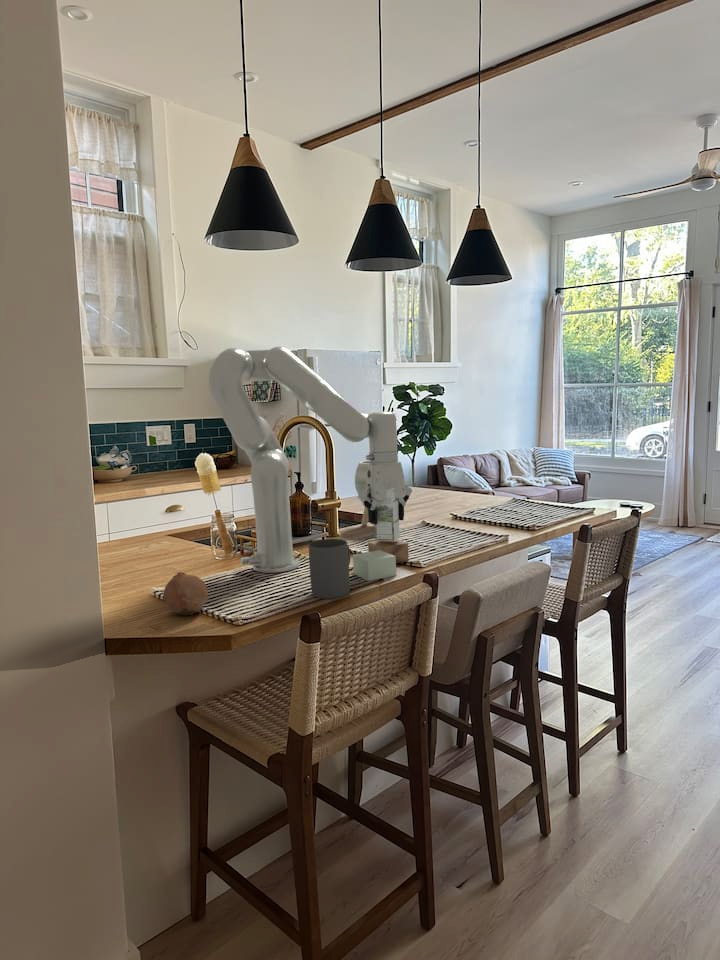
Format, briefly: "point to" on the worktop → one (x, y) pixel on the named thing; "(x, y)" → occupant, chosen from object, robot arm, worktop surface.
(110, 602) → the worktop surface
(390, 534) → the syrup box
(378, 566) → the sage block
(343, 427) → the robot arm
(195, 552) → the worktop surface
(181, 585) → the onion
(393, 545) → the walnut block
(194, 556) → the worktop surface
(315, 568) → the mug
